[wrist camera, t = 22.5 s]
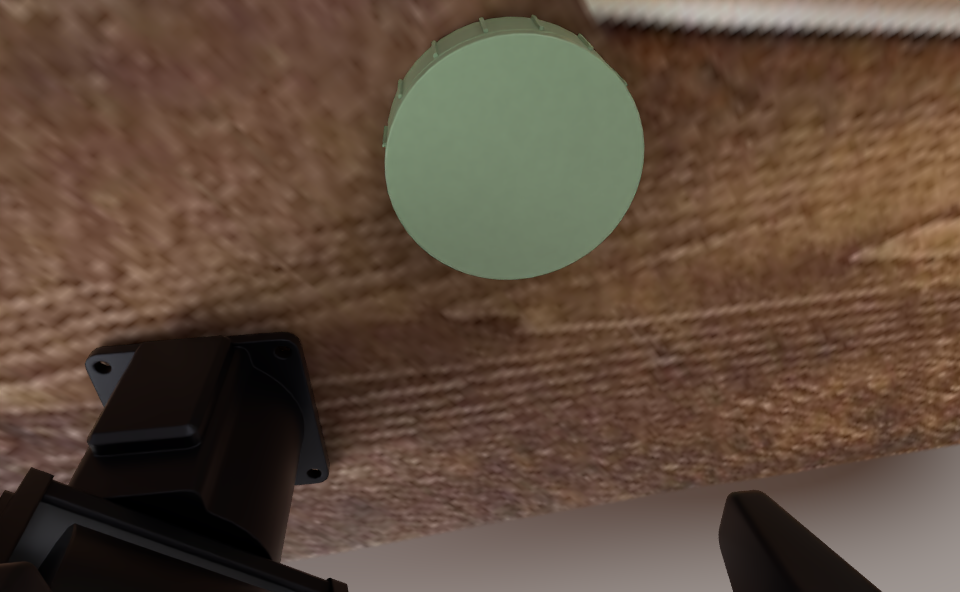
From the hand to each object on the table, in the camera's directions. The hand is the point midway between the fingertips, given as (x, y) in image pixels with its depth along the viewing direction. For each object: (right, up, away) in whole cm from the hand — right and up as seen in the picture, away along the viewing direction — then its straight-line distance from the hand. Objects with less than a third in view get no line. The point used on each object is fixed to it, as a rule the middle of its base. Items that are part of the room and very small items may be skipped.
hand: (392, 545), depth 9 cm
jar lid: (+2, +7, +8) cm, 11 cm away
